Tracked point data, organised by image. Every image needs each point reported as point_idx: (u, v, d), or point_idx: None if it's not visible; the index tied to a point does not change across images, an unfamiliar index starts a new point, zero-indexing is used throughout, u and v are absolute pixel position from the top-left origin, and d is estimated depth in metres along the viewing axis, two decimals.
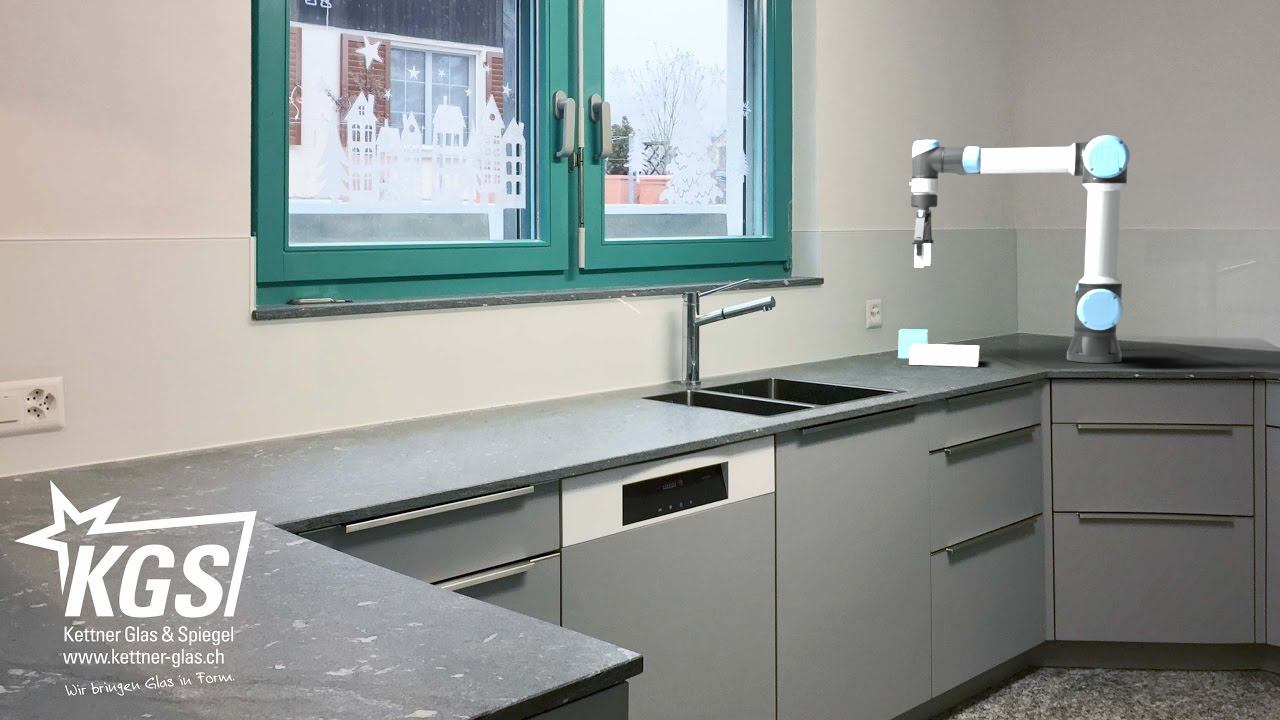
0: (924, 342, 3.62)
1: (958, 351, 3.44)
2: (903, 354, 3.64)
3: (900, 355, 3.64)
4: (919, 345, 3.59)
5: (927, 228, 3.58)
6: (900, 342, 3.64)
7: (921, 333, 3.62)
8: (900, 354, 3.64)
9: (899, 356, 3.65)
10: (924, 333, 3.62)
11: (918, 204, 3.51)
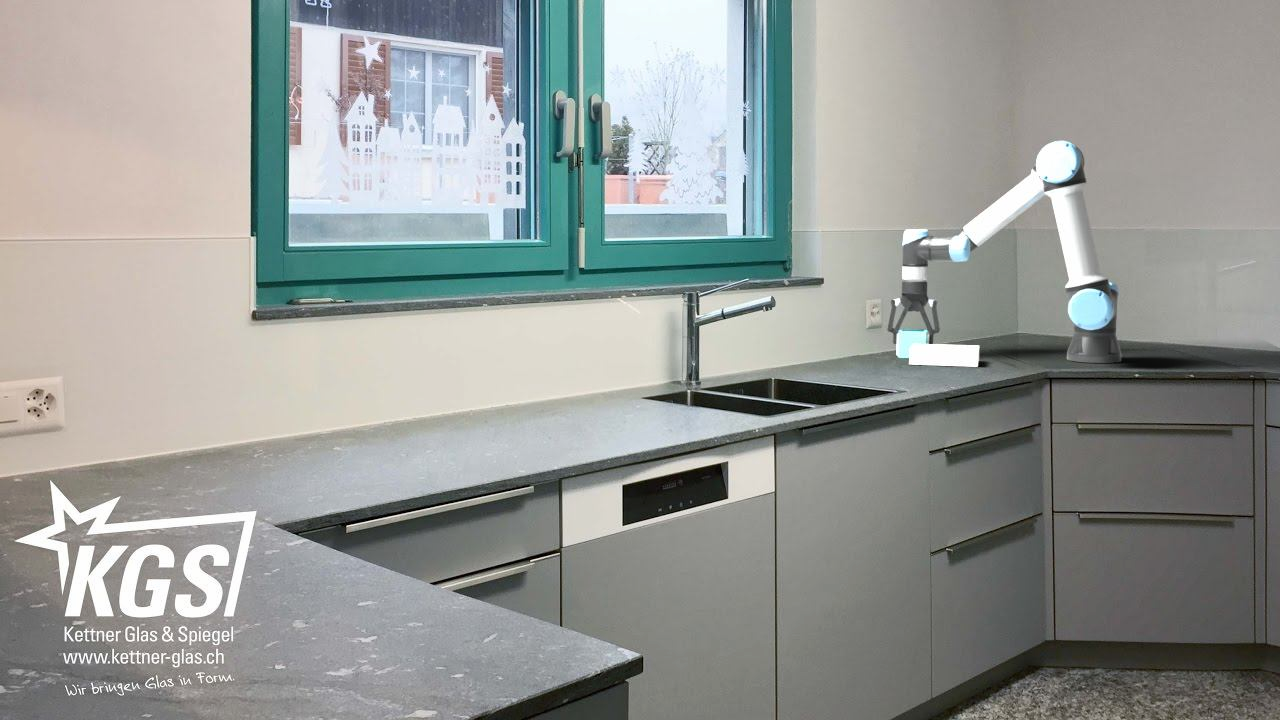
0: (924, 342, 3.62)
1: (958, 351, 3.44)
2: (903, 354, 3.64)
3: (900, 355, 3.64)
4: (919, 345, 3.59)
5: (922, 316, 3.64)
6: (900, 342, 3.64)
7: (921, 333, 3.62)
8: (900, 354, 3.64)
9: (899, 356, 3.65)
10: (924, 333, 3.62)
11: None
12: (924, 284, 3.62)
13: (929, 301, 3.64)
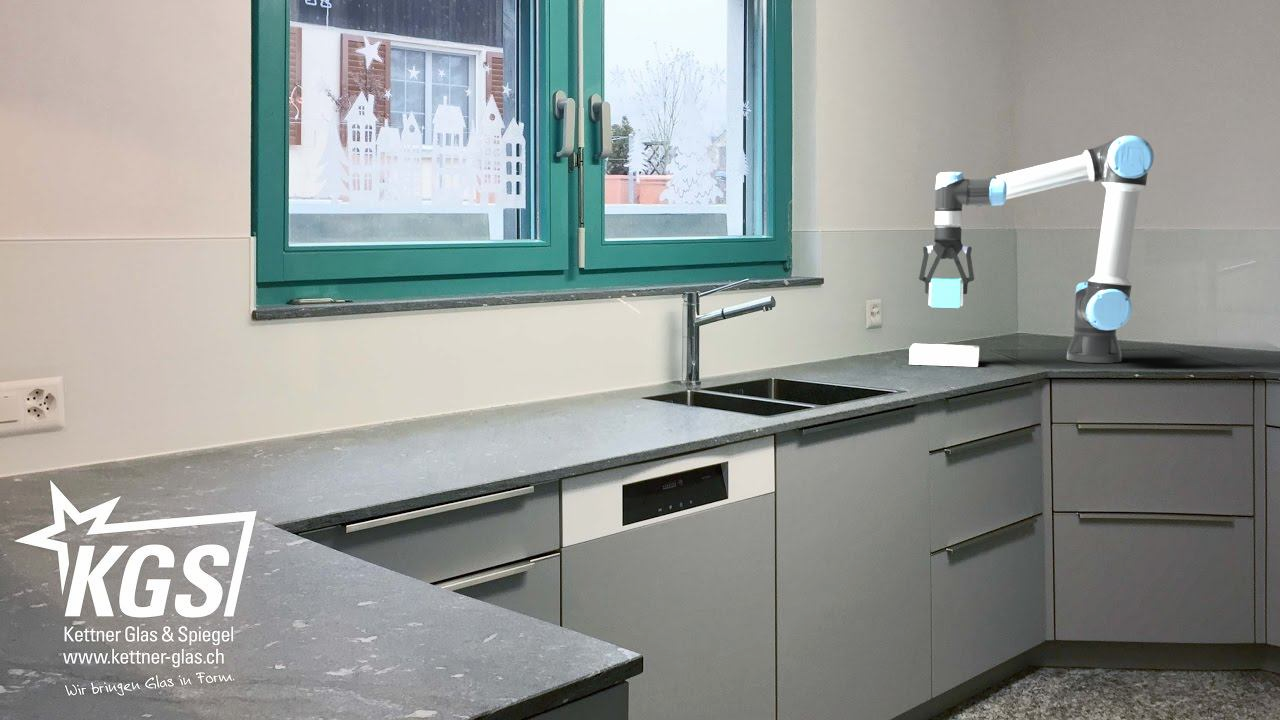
0: (958, 290, 3.45)
1: (958, 351, 3.44)
2: (936, 303, 3.47)
3: (933, 304, 3.47)
4: (919, 345, 3.59)
5: None
6: (933, 290, 3.47)
7: (955, 281, 3.45)
8: (933, 303, 3.47)
9: (932, 305, 3.47)
10: (958, 281, 3.44)
11: None
12: (958, 229, 3.44)
13: (963, 248, 3.46)
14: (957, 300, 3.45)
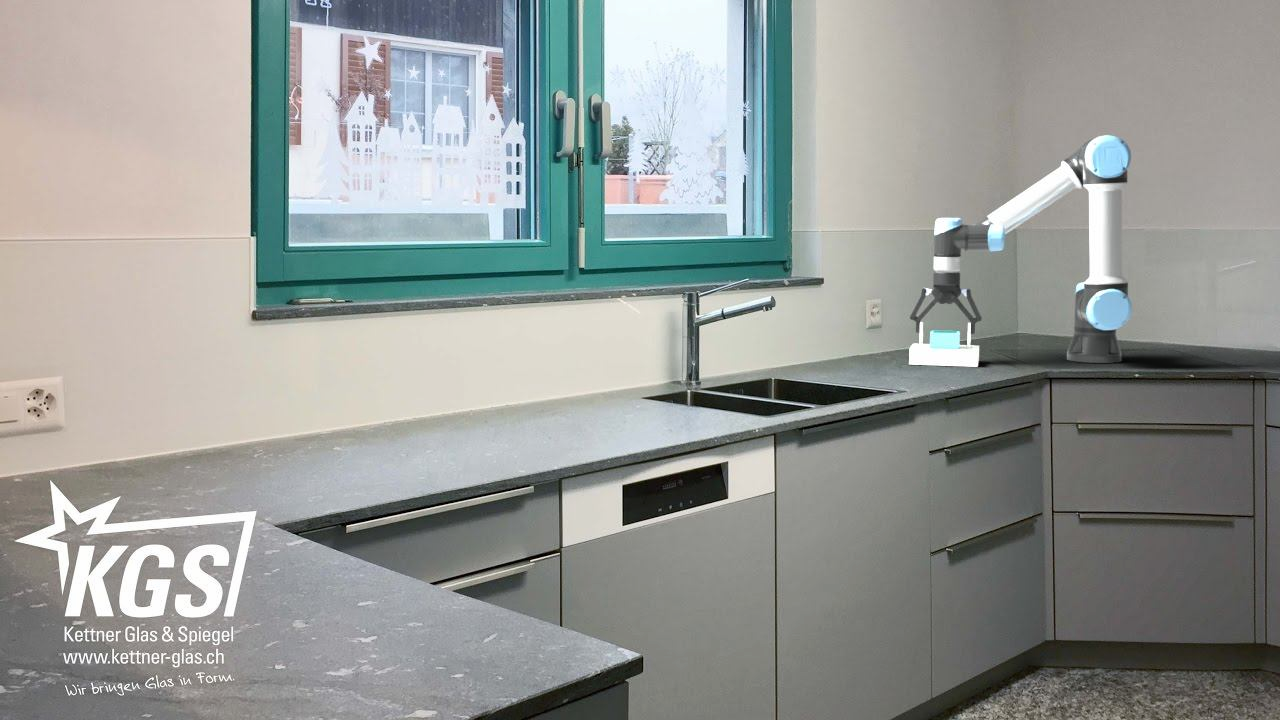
0: (957, 344, 3.46)
1: (958, 351, 3.44)
2: None
3: None
4: (919, 345, 3.59)
5: None
6: (931, 344, 3.49)
7: (954, 334, 3.46)
8: None
9: None
10: (957, 334, 3.46)
11: None
12: (957, 275, 3.46)
13: (962, 291, 3.48)
14: None
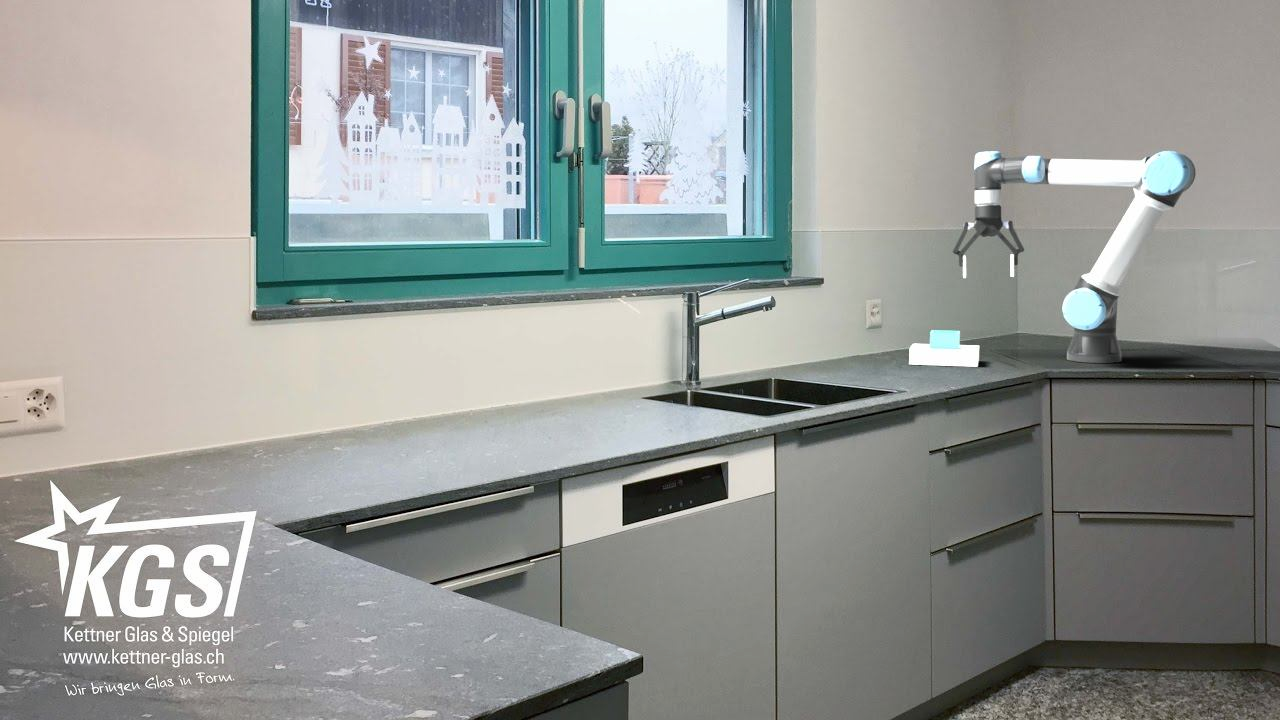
0: (957, 344, 3.46)
1: (958, 351, 3.44)
2: None
3: None
4: (919, 345, 3.59)
5: (1001, 239, 3.55)
6: (931, 344, 3.49)
7: (954, 334, 3.46)
8: None
9: None
10: (957, 334, 3.46)
11: None
12: (998, 207, 3.53)
13: (1004, 224, 3.55)
14: None
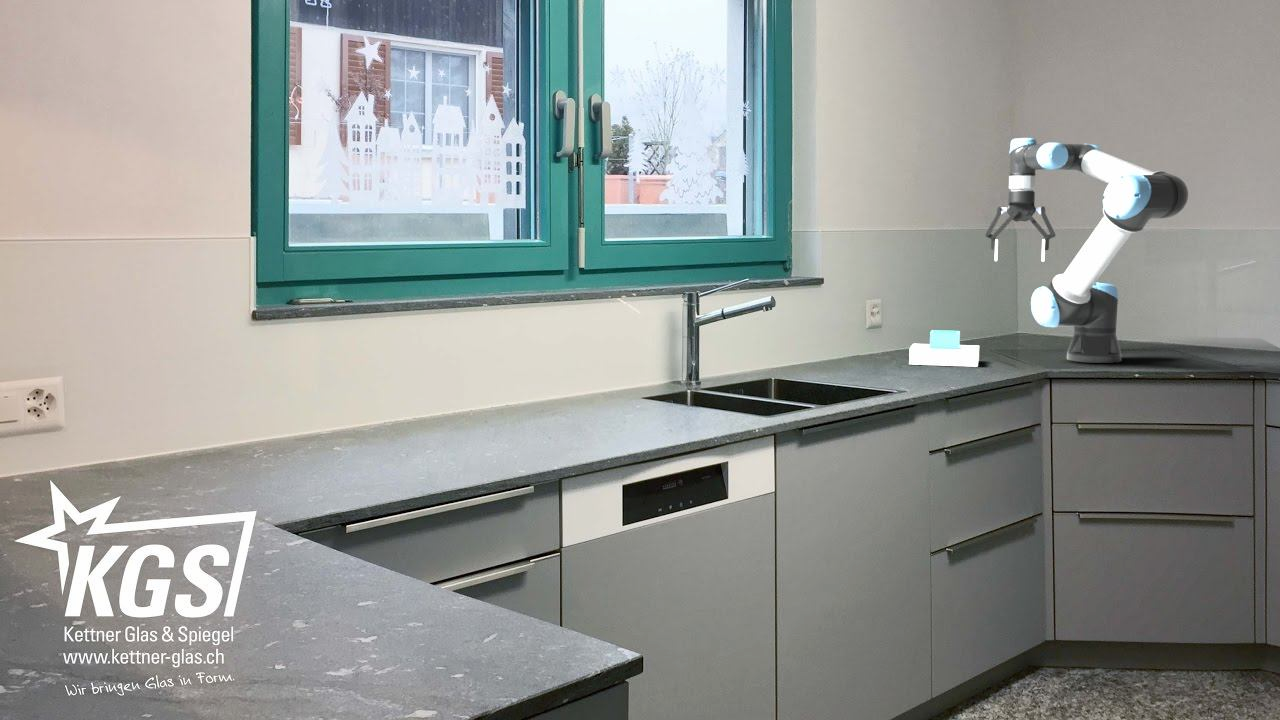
0: (957, 344, 3.46)
1: (958, 351, 3.44)
2: None
3: None
4: (919, 345, 3.59)
5: (1033, 224, 3.63)
6: (931, 344, 3.49)
7: (954, 334, 3.46)
8: None
9: None
10: (957, 334, 3.46)
11: None
12: (1032, 193, 3.61)
13: (1037, 209, 3.63)
14: None
